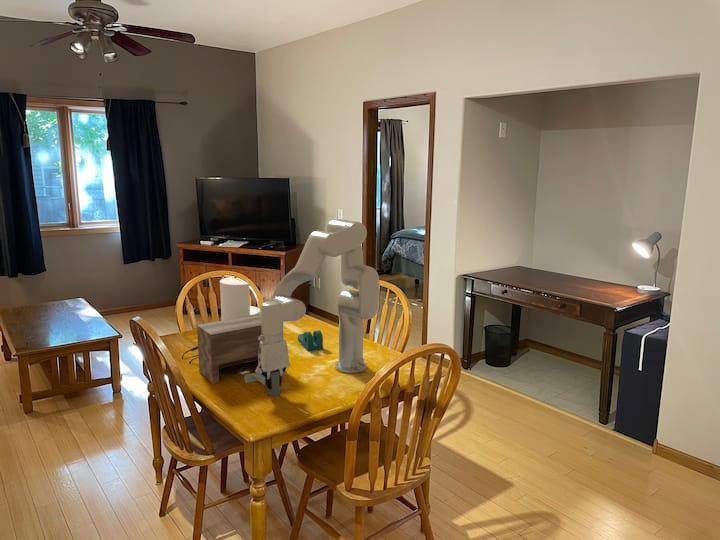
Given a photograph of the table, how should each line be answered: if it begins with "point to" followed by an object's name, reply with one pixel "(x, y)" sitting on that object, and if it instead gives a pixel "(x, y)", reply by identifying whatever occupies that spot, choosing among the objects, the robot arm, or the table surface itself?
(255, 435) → the table surface
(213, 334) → the cabinet
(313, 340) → the bracket
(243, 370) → the token
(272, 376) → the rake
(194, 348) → the sunglasses
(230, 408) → the table surface
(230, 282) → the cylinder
